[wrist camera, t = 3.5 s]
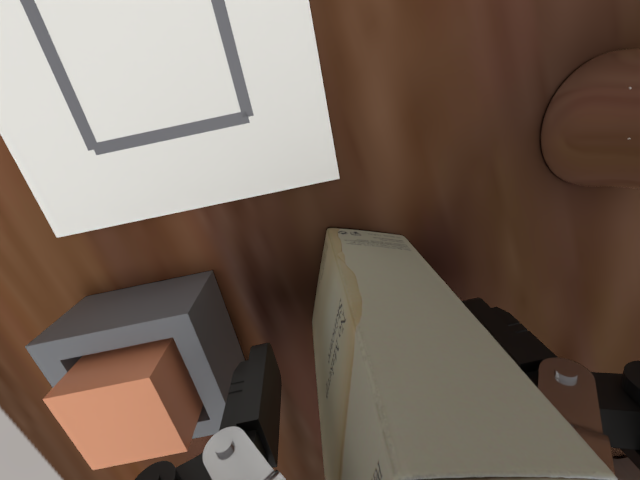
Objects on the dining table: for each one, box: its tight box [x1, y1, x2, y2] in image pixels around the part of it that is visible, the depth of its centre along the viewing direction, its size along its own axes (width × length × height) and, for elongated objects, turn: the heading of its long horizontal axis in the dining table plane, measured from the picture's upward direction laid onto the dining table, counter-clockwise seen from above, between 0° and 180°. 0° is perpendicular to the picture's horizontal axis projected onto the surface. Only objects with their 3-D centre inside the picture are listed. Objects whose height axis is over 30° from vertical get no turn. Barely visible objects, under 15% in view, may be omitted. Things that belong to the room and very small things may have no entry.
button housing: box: [25, 270, 245, 439], centre depth 16 cm, size 7×7×4 cm
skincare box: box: [312, 228, 618, 480], centre depth 12 cm, size 6×4×12 cm
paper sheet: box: [0, 0, 340, 238], centre depth 12 cm, size 14×16×1 cm
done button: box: [43, 338, 203, 470], centre depth 14 cm, size 4×4×2 cm
